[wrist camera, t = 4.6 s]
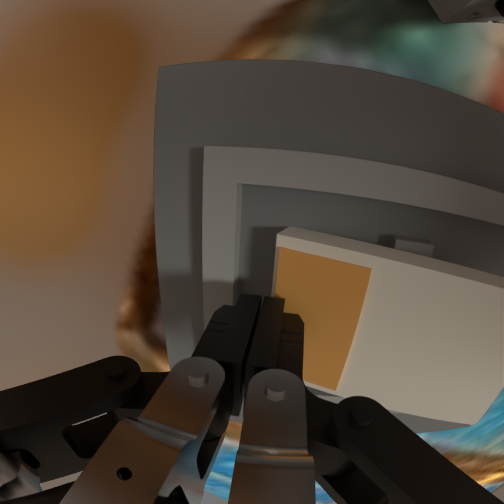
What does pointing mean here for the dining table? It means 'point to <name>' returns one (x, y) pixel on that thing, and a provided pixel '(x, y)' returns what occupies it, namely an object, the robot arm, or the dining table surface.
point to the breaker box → (312, 179)
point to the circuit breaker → (469, 10)
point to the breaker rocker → (393, 325)
